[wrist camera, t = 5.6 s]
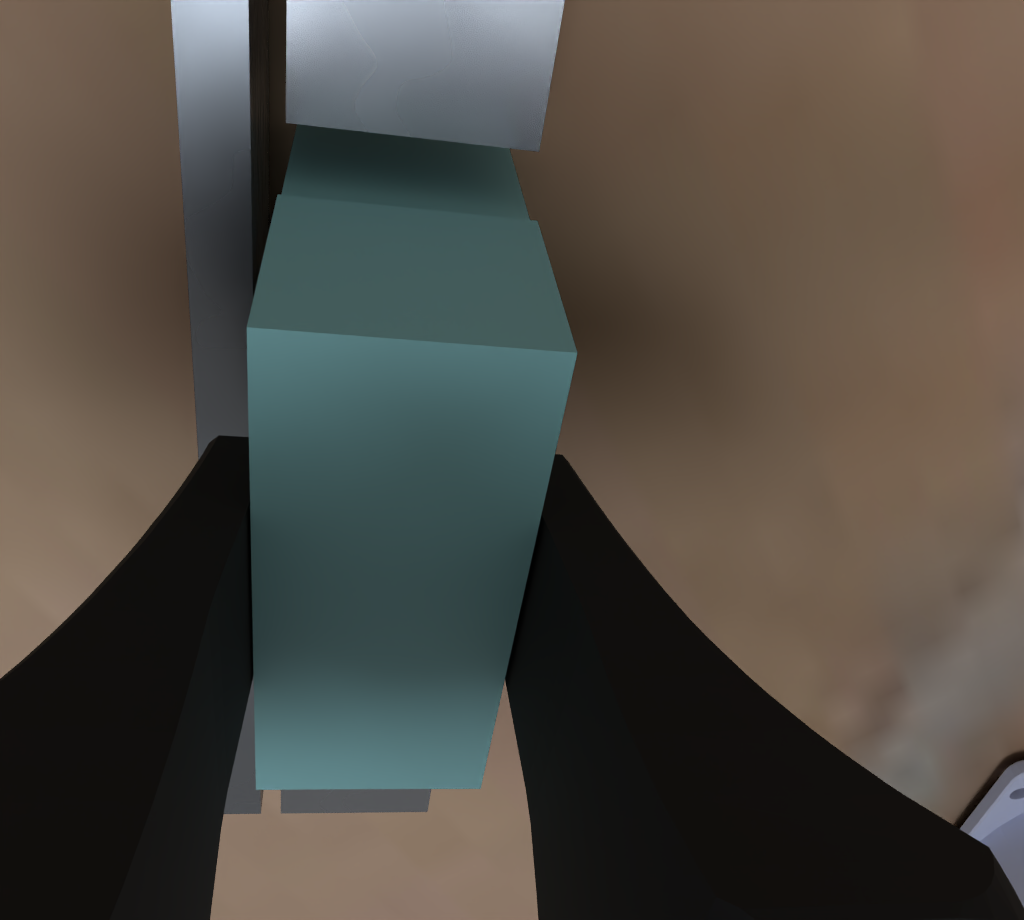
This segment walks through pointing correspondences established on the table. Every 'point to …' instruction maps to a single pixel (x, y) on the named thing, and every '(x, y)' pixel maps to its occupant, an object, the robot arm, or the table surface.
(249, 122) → the rail
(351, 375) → the clip
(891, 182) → the table surface
